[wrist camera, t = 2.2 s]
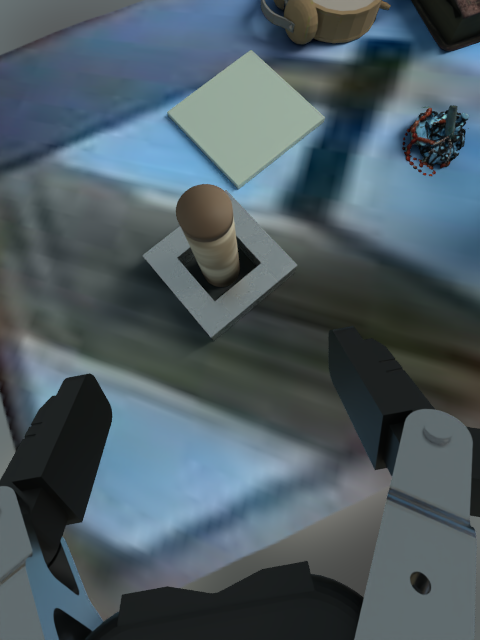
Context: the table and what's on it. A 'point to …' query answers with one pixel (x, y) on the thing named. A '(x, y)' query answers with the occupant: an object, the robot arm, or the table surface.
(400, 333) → the table surface
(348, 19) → the alarm clock
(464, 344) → the table surface
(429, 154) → the beaded bracelet pile
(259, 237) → the block
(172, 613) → the robot arm
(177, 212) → the peg
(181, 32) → the table surface
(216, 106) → the tile
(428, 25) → the diary
